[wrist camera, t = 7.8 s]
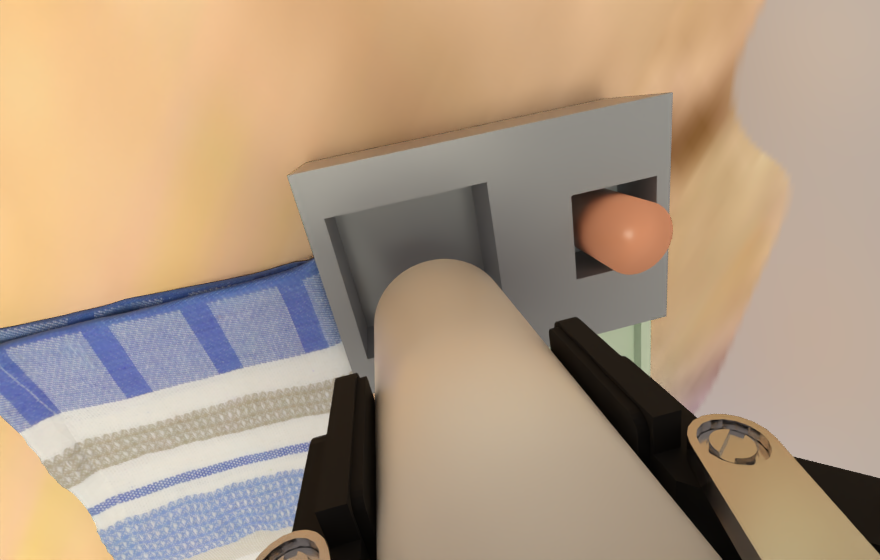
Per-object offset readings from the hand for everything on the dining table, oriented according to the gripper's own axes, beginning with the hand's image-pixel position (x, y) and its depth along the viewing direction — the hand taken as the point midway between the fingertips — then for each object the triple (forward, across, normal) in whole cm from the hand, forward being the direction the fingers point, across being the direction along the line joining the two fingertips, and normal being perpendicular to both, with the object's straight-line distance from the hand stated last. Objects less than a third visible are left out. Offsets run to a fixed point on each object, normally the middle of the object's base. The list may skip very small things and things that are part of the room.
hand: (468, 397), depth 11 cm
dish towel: (+13, +13, +10) cm, 21 cm away
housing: (+12, -3, -1) cm, 13 cm away
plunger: (+9, -8, -1) cm, 13 cm away
